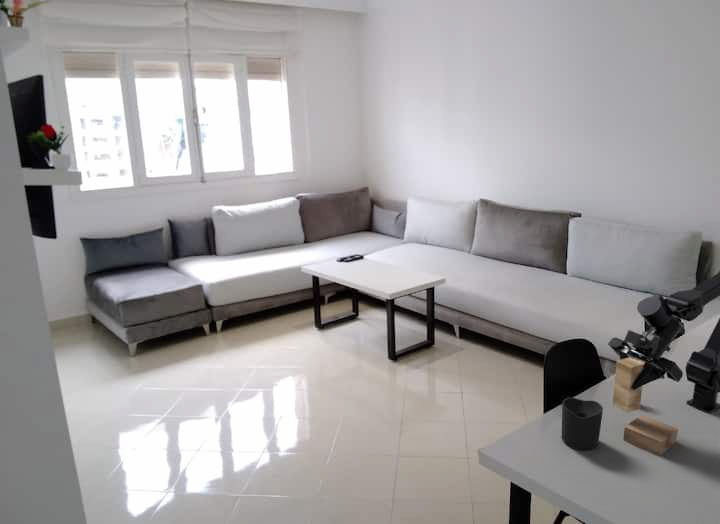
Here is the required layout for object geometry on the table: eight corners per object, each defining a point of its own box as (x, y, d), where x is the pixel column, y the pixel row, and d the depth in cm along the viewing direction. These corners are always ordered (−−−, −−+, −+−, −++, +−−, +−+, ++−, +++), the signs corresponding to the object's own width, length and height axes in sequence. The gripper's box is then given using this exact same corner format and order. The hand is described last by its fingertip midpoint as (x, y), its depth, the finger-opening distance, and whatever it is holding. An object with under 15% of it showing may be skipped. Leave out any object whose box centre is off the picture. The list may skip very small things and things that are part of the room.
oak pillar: (625, 401, 144) (629, 357, 141) (639, 408, 140) (644, 364, 137) (612, 404, 142) (616, 360, 139) (626, 412, 138) (631, 367, 135)
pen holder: (580, 456, 132) (583, 419, 130) (551, 437, 140) (554, 402, 138) (608, 445, 136) (611, 409, 134) (578, 427, 144) (581, 393, 142)
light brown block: (639, 428, 144) (641, 414, 143) (676, 442, 137) (677, 428, 136) (623, 441, 138) (624, 427, 137) (660, 456, 132) (661, 442, 131)
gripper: (615, 308, 145) (581, 354, 144) (679, 331, 128) (641, 384, 127) (634, 331, 150) (601, 376, 148) (699, 356, 133) (662, 407, 132)
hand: (624, 384), depth 139 cm, fingers closed on oak pillar, 4 cm apart
